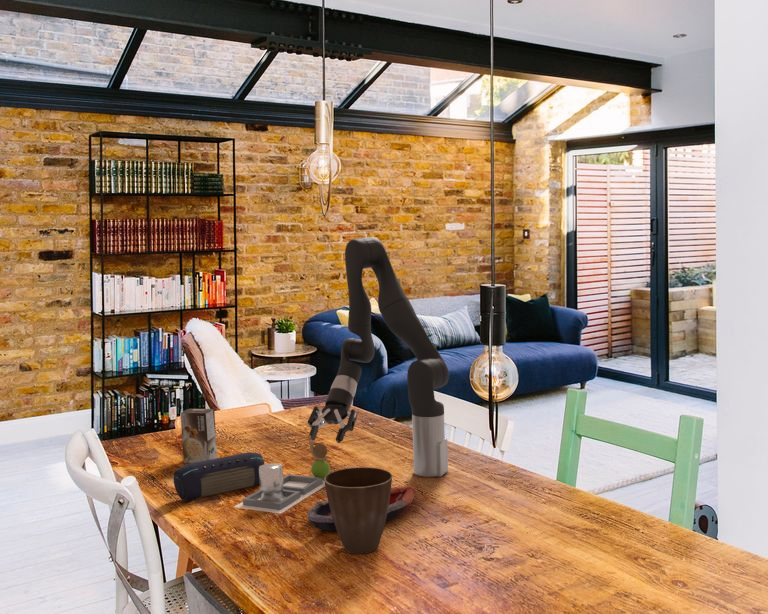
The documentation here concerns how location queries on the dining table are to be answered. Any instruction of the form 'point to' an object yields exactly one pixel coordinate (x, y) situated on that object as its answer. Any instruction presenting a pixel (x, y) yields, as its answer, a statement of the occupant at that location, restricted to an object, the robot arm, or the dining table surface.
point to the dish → (397, 507)
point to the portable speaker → (217, 475)
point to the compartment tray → (285, 494)
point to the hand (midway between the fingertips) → (324, 440)
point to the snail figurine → (319, 460)
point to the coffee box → (198, 435)
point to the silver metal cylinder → (271, 482)
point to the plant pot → (359, 506)
